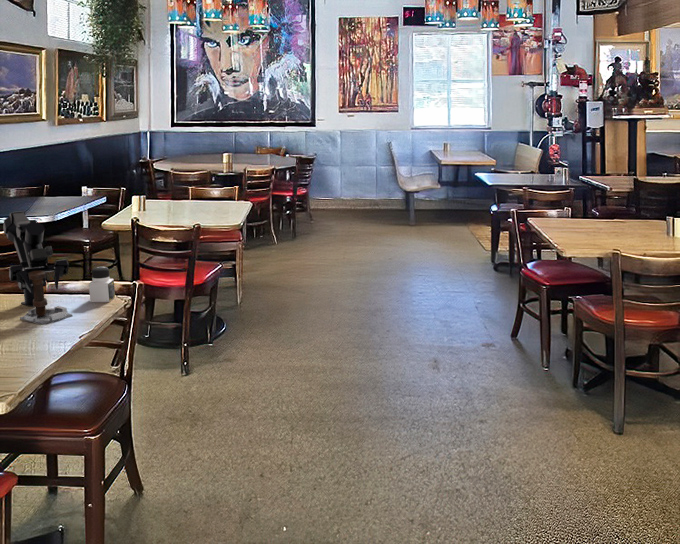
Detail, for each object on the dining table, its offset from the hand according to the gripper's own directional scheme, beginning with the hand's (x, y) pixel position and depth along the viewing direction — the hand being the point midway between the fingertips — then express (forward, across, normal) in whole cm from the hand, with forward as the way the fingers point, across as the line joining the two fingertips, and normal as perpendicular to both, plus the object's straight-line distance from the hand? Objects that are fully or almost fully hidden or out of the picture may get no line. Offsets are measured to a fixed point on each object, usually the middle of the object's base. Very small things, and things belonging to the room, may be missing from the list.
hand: (44, 290), depth 268 cm
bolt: (+4, -1, +9) cm, 10 cm away
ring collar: (+6, 0, +8) cm, 10 cm away
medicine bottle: (-4, +22, +17) cm, 28 cm away
